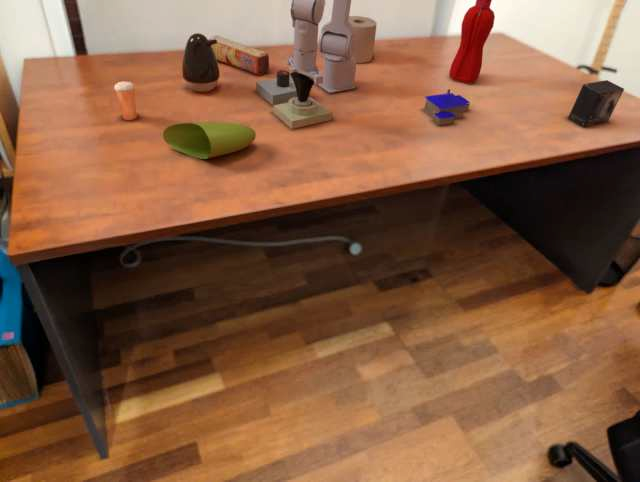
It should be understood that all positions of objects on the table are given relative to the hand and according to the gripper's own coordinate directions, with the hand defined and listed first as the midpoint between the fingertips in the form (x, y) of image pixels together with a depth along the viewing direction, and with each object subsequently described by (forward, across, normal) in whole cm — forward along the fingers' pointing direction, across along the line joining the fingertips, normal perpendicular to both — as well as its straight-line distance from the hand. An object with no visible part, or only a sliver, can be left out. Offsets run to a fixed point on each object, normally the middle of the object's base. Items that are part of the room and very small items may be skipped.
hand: (302, 100), depth 130 cm
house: (+5, +15, +38) cm, 41 cm away
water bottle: (+5, -1, +62) cm, 62 cm away
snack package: (+5, -39, 0) cm, 39 cm away
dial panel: (+5, -14, +2) cm, 15 cm away
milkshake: (+5, -18, -40) cm, 44 cm away
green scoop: (+5, +7, -28) cm, 29 cm away
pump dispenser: (+5, -27, -17) cm, 32 cm away
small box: (+5, +37, +75) cm, 84 cm away
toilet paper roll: (+5, -31, +40) cm, 51 cm away
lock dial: (+2, -14, +2) cm, 14 cm away
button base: (+5, 0, 0) cm, 5 cm away
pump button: (+2, 0, 0) cm, 2 cm away
